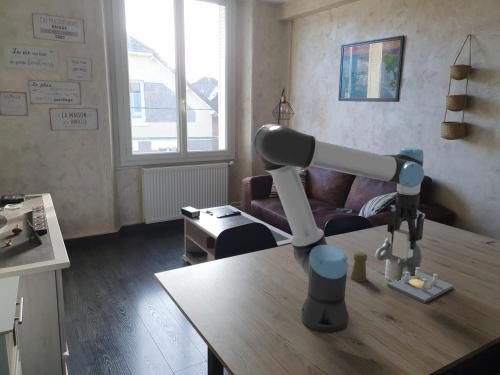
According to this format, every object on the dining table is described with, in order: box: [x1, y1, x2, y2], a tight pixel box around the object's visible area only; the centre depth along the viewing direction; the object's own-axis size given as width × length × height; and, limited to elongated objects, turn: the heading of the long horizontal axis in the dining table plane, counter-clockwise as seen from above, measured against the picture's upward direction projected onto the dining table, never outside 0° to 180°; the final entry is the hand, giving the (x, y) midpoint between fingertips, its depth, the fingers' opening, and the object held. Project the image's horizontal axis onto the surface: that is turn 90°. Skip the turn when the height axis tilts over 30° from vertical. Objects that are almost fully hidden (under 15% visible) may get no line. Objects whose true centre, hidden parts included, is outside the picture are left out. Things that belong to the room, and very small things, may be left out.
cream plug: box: [391, 228, 410, 260], centre depth 134 cm, size 5×5×9 cm
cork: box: [350, 251, 368, 283], centre depth 148 cm, size 6×6×11 cm
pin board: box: [386, 266, 454, 304], centre depth 142 cm, size 20×15×6 cm
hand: (402, 254), depth 135 cm, fingers closed on cream plug, 5 cm apart
